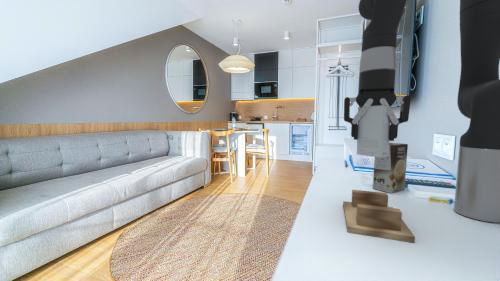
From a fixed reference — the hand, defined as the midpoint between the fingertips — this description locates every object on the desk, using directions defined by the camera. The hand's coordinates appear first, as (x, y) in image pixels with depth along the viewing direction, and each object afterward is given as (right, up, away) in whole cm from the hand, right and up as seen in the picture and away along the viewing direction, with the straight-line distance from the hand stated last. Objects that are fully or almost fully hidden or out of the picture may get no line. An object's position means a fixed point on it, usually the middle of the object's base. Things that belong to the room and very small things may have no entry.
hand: (372, 139), depth 54 cm
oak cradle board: (-1, -19, -1) cm, 19 cm away
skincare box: (0, -4, 0) cm, 4 cm away
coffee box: (+19, -17, +23) cm, 35 cm away
